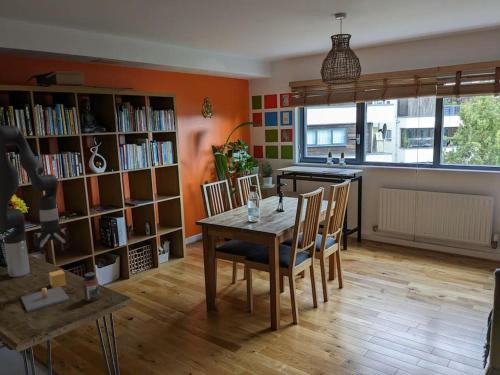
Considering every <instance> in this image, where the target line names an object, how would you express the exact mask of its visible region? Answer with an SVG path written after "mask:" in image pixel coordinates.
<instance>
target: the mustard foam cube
mask: <svg viewBox="0 0 500 375" xmlns="http://www.w3.org/2000/svg"><path fill="white" fill-rule="evenodd" d="M48 276H49V282H50V286H51V289H52V288H56V287H60V286H61V287H64V286H67V281H66V274H65V271H64V270H63V269H59V270H55V271H51V272H49V273H48Z"/></svg>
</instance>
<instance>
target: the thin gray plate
mask: <svg viewBox="0 0 500 375" xmlns="http://www.w3.org/2000/svg"><path fill="white" fill-rule="evenodd" d="M20 298H21V301H22V303H23V306H24V307H25V310H26V312H27V313H29V312H33V311H37V310H40V309H45V308H48V307H51V306H54V305H58V304H62V303H65V302H68V301H69V302H70V299H71V298H70V297H69V295H68V294H67V293H66V292H65V290H64V289H63V288H62V286H60V287H56V288H52V287H51V288H50V289H47V287H42V288H41V291H37V292H34V293H29V294H26V295H23V296H20Z"/></svg>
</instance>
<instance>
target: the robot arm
mask: <svg viewBox="0 0 500 375" xmlns="http://www.w3.org/2000/svg"><path fill="white" fill-rule="evenodd" d="M14 145H15V146H17V148H18V149H19V158H18V159H19V164H20V166H21V167H22V168H23V170H24V172H26V173H27V176H28V178H29V181H30V184H31V187H32V189H33V190H34V191H36V192H45V194H43V195H41V196H39V197H38V202H37V203H38V208H39V221H40V223H39V224H40V229H41V230H40V231H41V232H38V233H37V232H34V233H33V245H34V246H35V248H39V252H40V254H41V255H42V256H45V248H44V246H45V244H46V243H47V241H48V242H49V241H55V240H57V239H58V240H59V241H60V243H61V250H62V252H64V251H65V250H66V246H67V245H66V242H68V241H70V237H69V230H68V228H67V227H64V228H60V219H59V211H58V208H57V194H58V189H59V180H58V178H57V176H56V175H54V174H52V173H49V174H48V173H47V174H43V173H44V172H45V168H44V166H43V165H42V163H41V162H40V161H39V160H38V158H37V157H36V155H35V154H34V152H33V151H32V149H31V147H30V145H29V142H28V141H27V140H26V137H25V135H24V134H23V132H22V131H21V129H20V128H19V127H18V126H16V125H9V124H8V125H0V230H1V231H7V230H11V229H13V230H11V232H10V233H8V234H6V235H5V236H4V237H3V243H4V244H3V245H4V249H5V257H6V264H7V271H8V276H9V277H12V278H17V277H21V276H25V275H27V274H29V273H30V272H31V271H30V263H29V255H28V247H27V242H26V225H25V224H26V223H25V222H26V221H25V215H24V213H23V211H22V209H20V208H15V209H14V208H13V209H10V210H9V204H10V202H11V201H12V199H13V197H14V195H15V193H16V192H17V190H18V189H19V186H20V179H19V178H20V177H19V174H20V173H19V171H18V169H17V167H16V166H15V165H14V164H13V162H12V161H11V160H10V159H9V157H8V154H7V149H6V146H7V147H8V146H14ZM42 174H43V175H42ZM61 233H63V234H64V238H63V237H62V236H60V235H61ZM40 236H41V237H42V238H41V240H40V242H39V238H40Z"/></svg>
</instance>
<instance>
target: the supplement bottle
mask: <svg viewBox="0 0 500 375" xmlns="http://www.w3.org/2000/svg"><path fill="white" fill-rule="evenodd" d="M82 284H83V285H82V286H83V294H84V300H85V301H86V302H94V301H97V300H98V299H99V298H100V296H101V295H100V286H99V279H98V277H97V276H96V273H95V272H91V271H90V272H86V274H84V279H83V280H82Z"/></svg>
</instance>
